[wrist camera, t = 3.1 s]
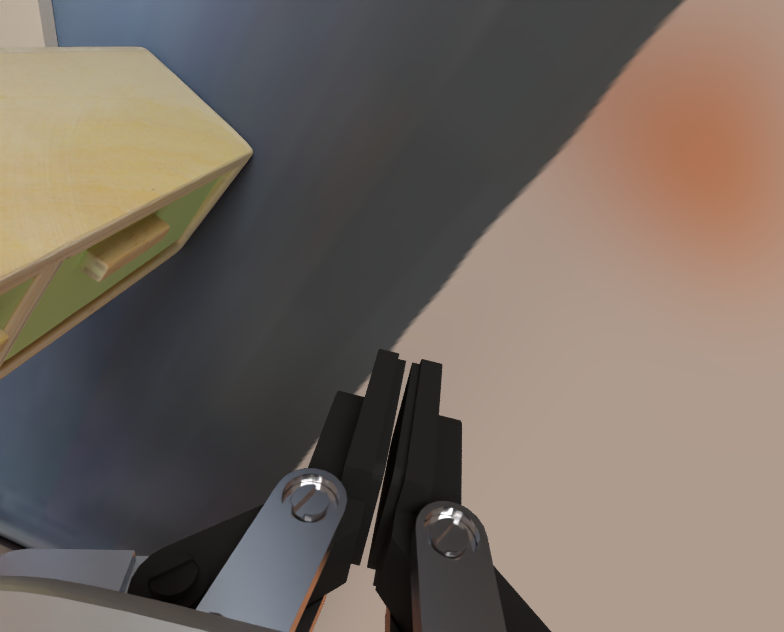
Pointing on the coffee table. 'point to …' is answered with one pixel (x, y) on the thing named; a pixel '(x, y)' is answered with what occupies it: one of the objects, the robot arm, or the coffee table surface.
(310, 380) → the coffee table surface
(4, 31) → the sheet of paper
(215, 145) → the toy refrigerator
